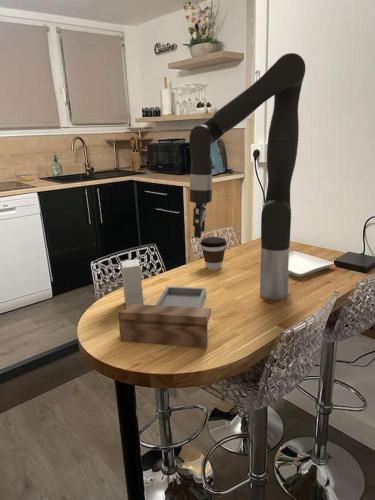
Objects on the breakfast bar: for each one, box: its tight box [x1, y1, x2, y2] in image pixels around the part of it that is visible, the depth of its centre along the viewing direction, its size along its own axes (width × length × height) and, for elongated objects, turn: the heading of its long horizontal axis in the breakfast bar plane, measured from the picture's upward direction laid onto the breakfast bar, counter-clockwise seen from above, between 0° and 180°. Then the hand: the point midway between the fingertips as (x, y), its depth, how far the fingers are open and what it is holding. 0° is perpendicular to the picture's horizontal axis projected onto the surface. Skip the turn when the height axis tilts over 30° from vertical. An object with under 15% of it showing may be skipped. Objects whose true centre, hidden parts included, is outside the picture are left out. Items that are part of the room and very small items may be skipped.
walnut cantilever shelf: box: [117, 304, 212, 349], centre depth 106 cm, size 24×10×9 cm, turn 79°
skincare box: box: [120, 259, 145, 309], centre depth 126 cm, size 8×6×15 cm
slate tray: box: [155, 285, 207, 308], centre depth 126 cm, size 14×18×3 cm
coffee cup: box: [199, 236, 228, 271], centre depth 160 cm, size 11×11×12 cm
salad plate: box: [288, 250, 335, 278], centre depth 158 cm, size 21×21×3 cm
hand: (199, 234), depth 133 cm, fingers open, 8 cm apart
